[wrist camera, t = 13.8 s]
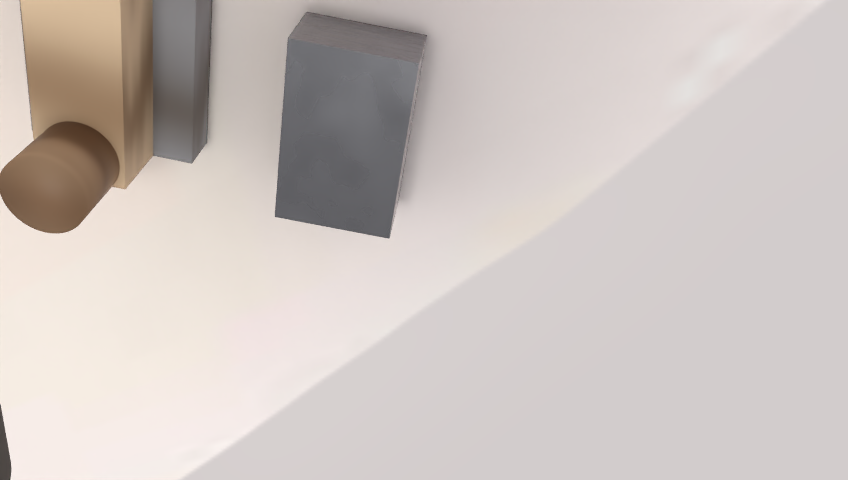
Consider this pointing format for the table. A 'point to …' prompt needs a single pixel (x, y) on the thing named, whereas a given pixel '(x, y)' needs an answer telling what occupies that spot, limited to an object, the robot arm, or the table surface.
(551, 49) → the table surface
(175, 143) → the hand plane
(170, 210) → the table surface
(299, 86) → the grey rectangular box
